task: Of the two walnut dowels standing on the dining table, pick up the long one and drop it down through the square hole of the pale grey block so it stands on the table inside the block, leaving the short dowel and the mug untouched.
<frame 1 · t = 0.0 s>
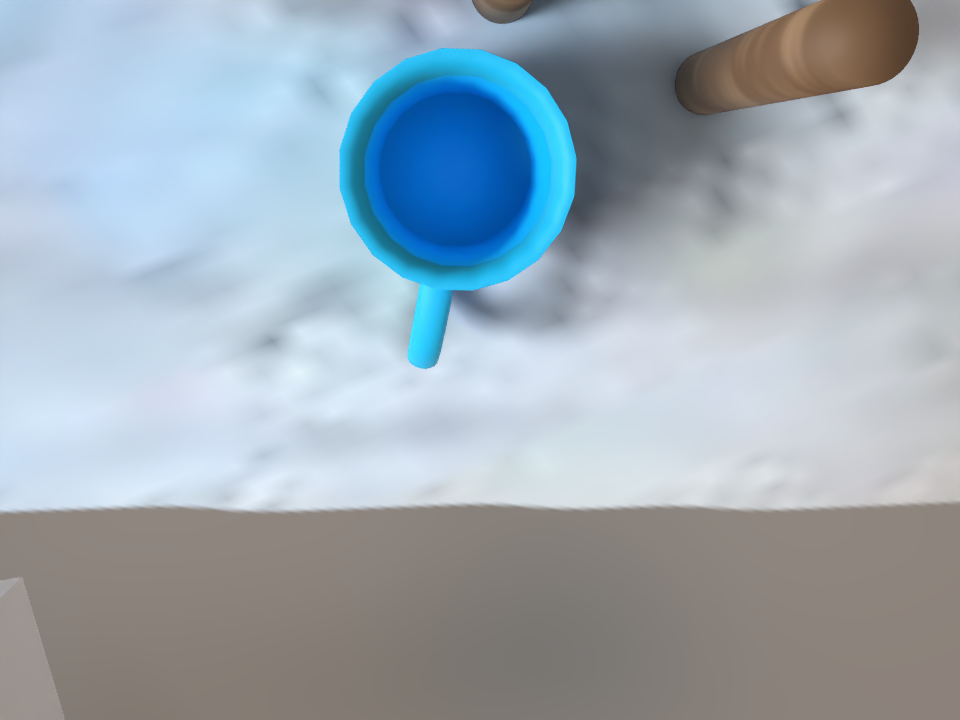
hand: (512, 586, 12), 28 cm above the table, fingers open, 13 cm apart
long dowel: (705, 83, 38), on the table
mug: (446, 214, 39), on the table
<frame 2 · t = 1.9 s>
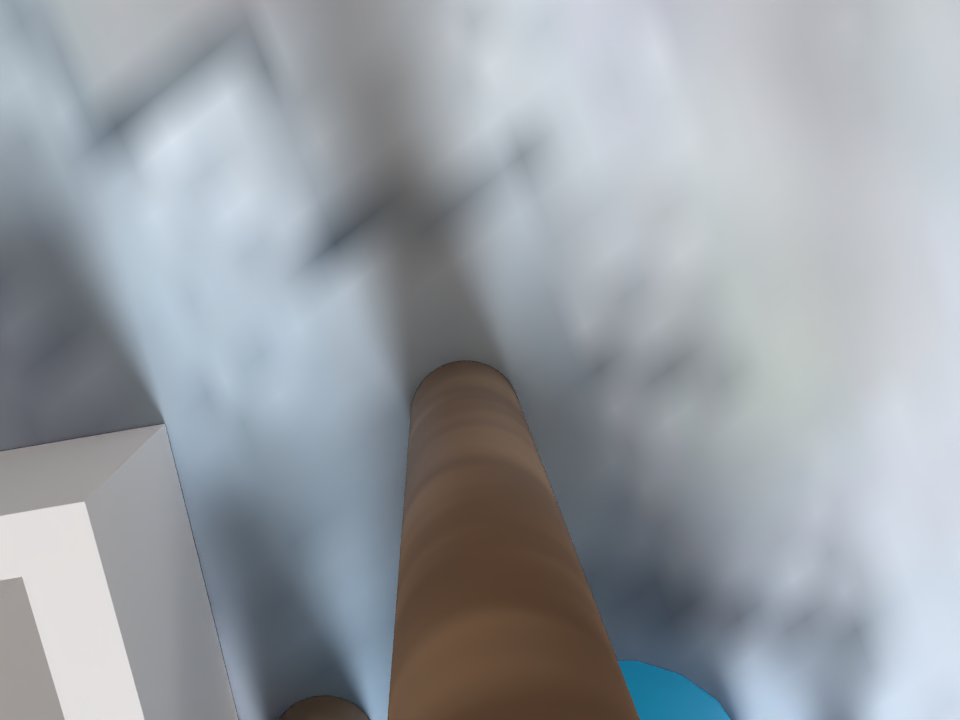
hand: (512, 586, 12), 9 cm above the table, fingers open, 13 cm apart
long dowel: (465, 413, 21), on the table
hole block: (11, 650, 22), on the table
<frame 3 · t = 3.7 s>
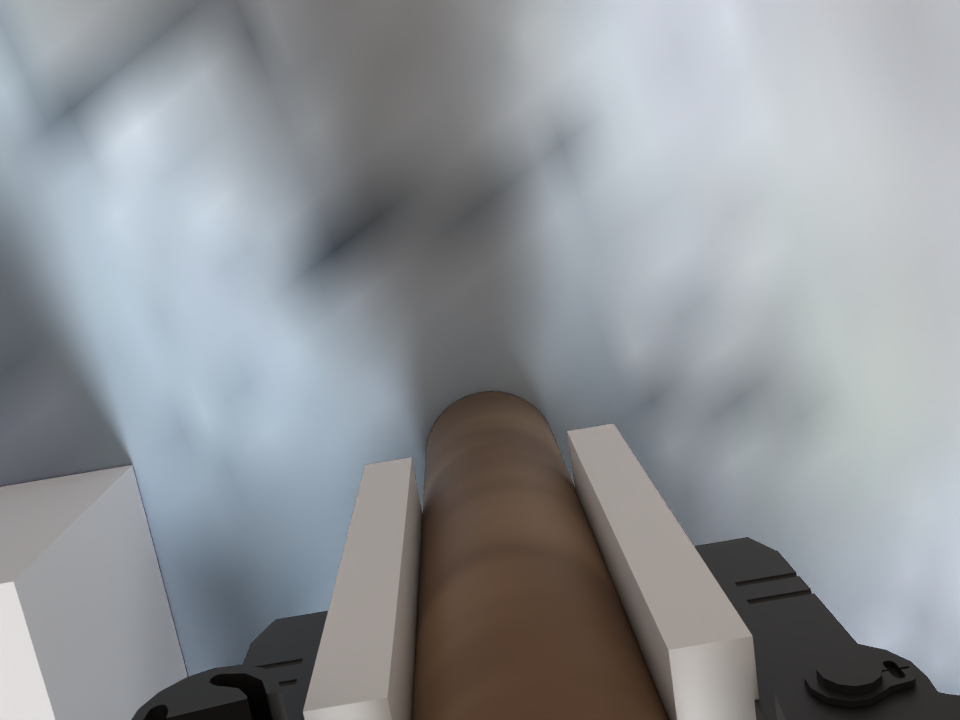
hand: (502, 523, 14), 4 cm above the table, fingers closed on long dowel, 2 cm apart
long dowel: (490, 454, 18), on the table, touching gripper
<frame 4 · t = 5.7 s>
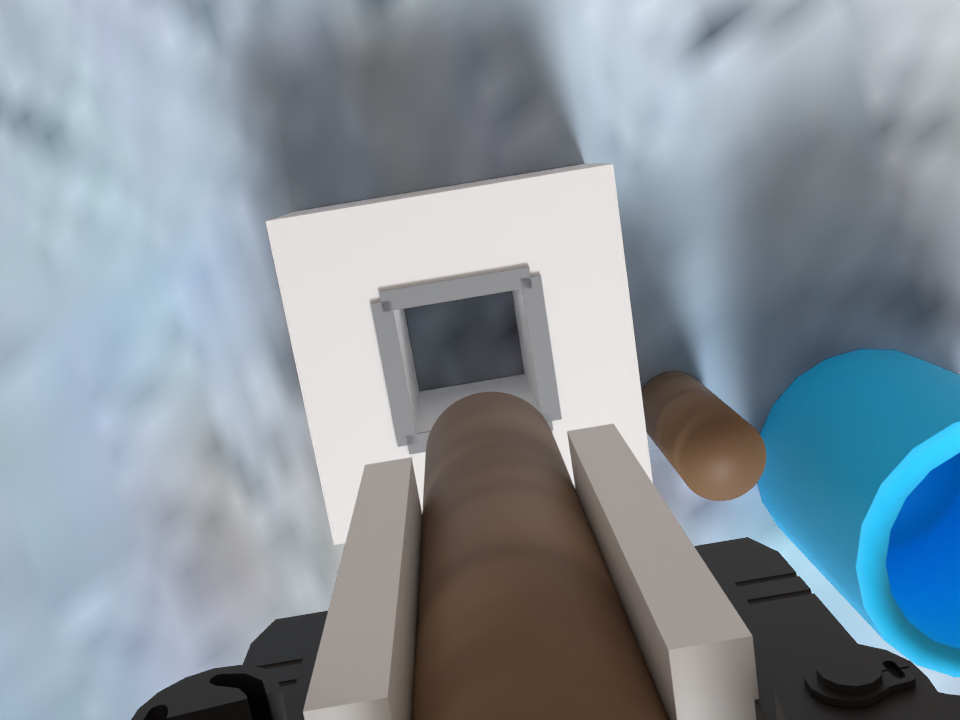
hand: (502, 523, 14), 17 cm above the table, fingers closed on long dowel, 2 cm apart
long dowel: (490, 454, 18), point 14 cm above the table, touching gripper
mug: (908, 462, 33), on the table
short dowel: (672, 406, 32), on the table
hole block: (463, 330, 31), on the table
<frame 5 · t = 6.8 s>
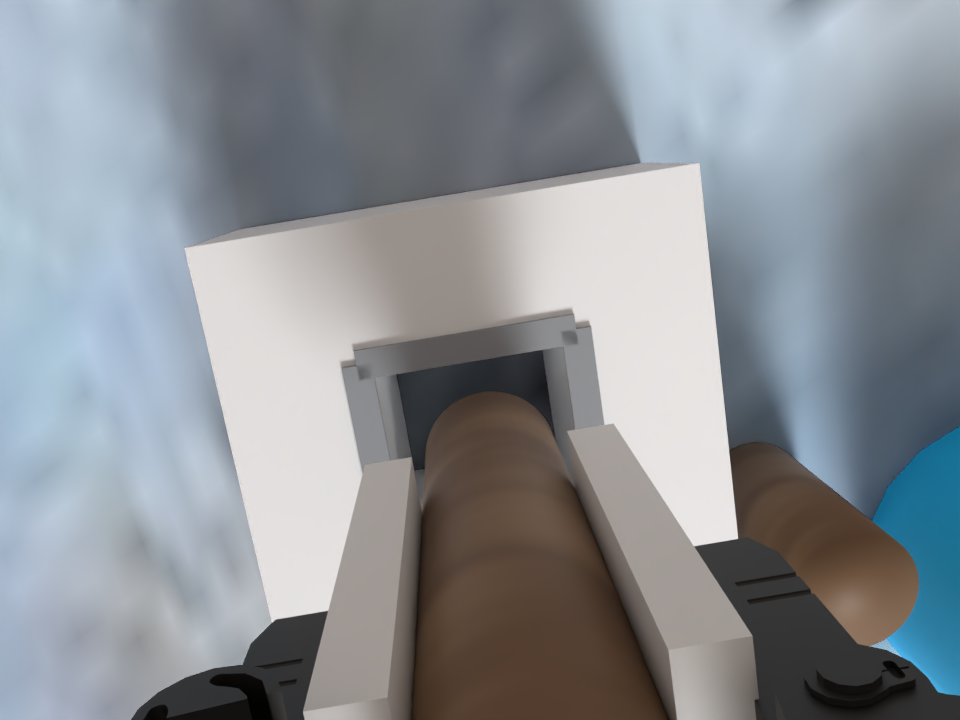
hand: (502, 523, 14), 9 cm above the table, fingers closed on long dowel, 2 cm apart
long dowel: (490, 454, 18), point 5 cm above the table, touching gripper
short dowel: (754, 488, 24), on the table
hole block: (474, 389, 23), on the table
when the fingers open (7 cm above the table, at t = 7.8 s): long dowel drops 3 cm, resting in hole block.
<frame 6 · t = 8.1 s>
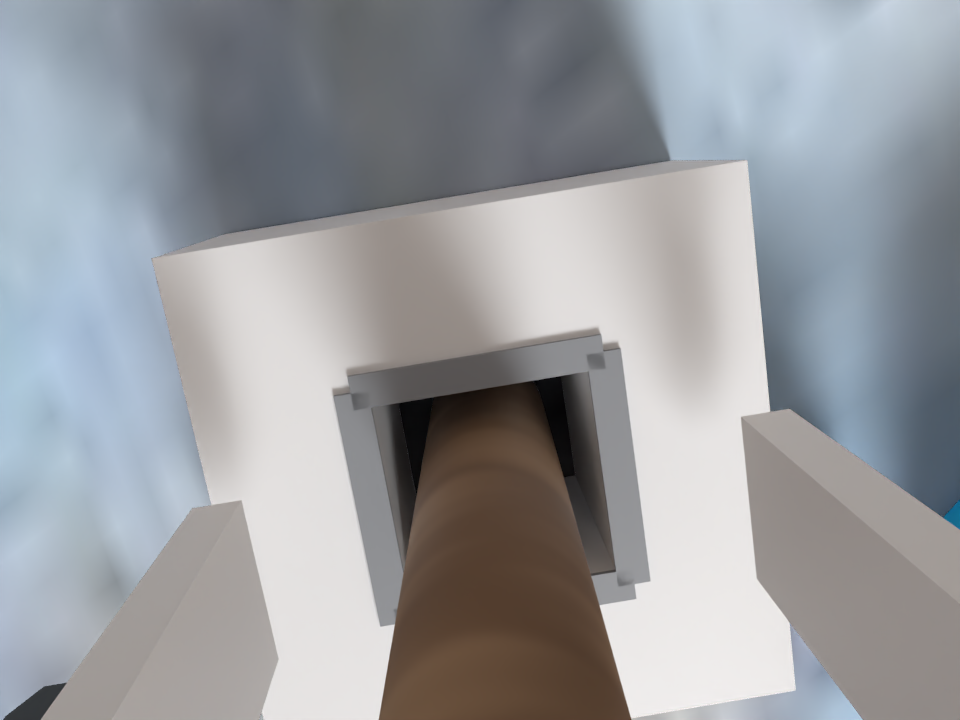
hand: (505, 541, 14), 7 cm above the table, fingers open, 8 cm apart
long dowel: (487, 412, 21), resting in hole block
hole block: (483, 412, 21), on the table
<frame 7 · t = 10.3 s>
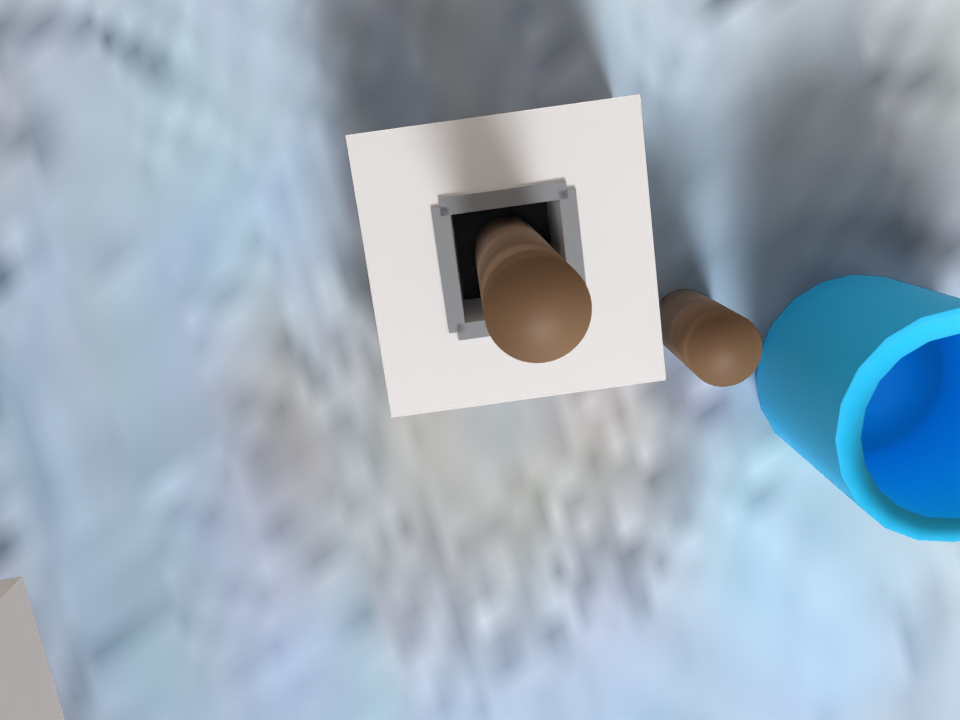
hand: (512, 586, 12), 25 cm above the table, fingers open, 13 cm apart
long dowel: (506, 247, 36), resting in hole block
mug: (892, 378, 38), on the table
short dowel: (684, 320, 37), on the table
hole block: (504, 247, 36), on the table
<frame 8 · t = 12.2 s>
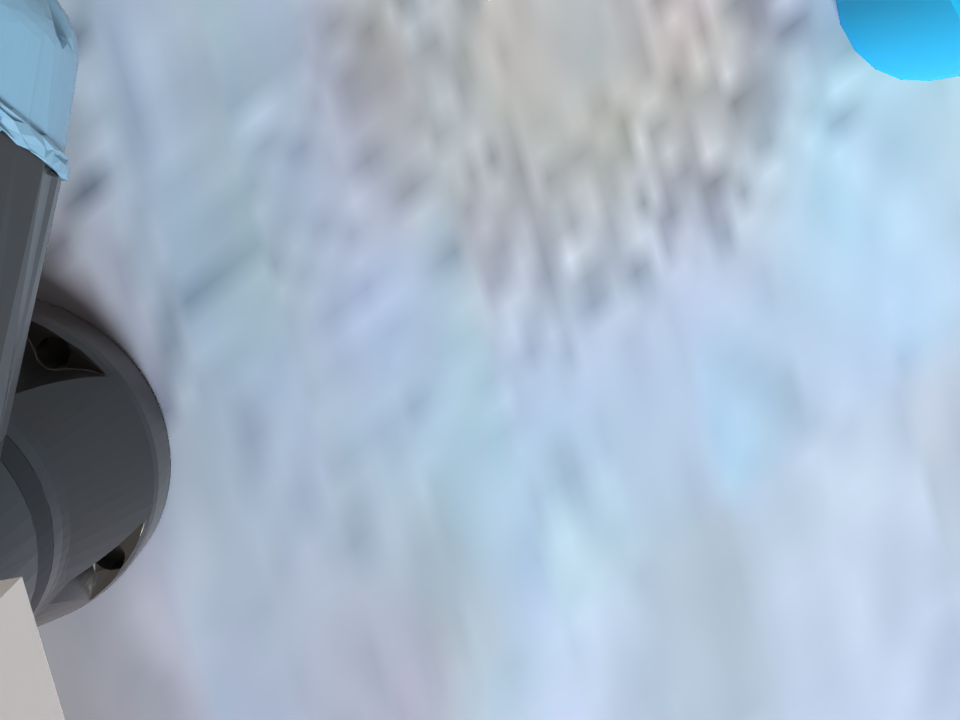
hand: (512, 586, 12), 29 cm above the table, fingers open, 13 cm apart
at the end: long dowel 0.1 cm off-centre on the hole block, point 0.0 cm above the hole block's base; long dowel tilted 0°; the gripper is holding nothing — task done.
